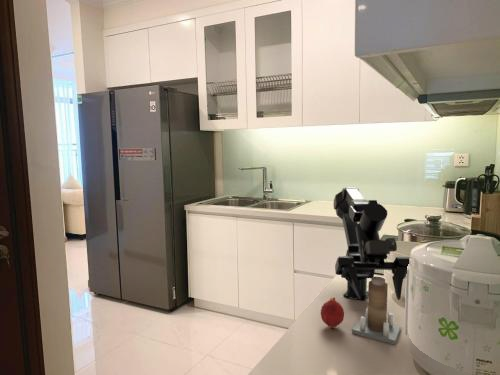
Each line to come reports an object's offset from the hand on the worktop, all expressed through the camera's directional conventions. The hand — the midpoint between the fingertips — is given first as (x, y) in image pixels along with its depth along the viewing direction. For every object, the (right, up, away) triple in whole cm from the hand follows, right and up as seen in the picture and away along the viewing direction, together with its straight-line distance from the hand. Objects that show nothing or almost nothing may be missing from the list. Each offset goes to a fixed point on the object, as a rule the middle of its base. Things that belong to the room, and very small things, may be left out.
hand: (379, 298), depth 86 cm
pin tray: (0, -9, +2) cm, 9 cm away
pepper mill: (0, -8, +2) cm, 8 cm away
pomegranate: (-11, -9, +4) cm, 14 cm away
